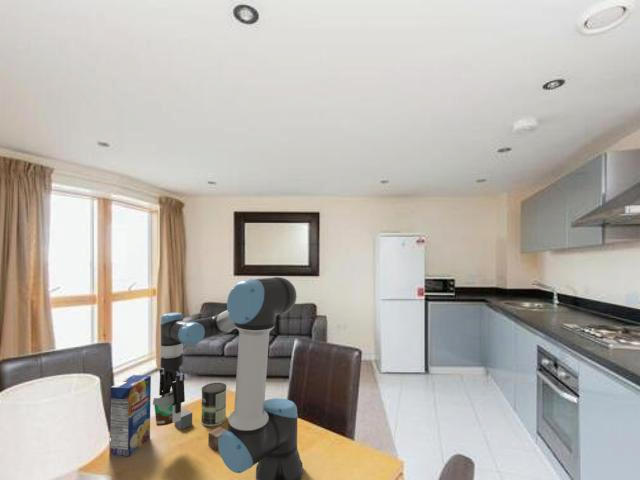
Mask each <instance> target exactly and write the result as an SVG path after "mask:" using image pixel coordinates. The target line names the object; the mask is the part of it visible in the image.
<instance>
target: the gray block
mask: <svg viewBox="0 0 640 480" xmlns="http://www.w3.org/2000/svg"><path fill="white" fill-rule="evenodd" d="M192 425H193V412H192V411H191V410H189V409H183V410H181V420H180V421H177V422H175V423H174V427H176V428H178V429H179V430H183V429H185V428H187V427H189V426H192Z"/></svg>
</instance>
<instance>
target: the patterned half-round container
mask: <svg viewBox="0 0 640 480" xmlns="http://www.w3.org/2000/svg"><path fill="white" fill-rule="evenodd" d="M173 403H174V397H173V393H172V390H170V392H167V393H165V394H164V395H163V396H160V397H158V398H157V397H154V398H153V400H152V405H153V406H154V413H155V423H156V424H155V425H156V426H157V427H162V426H167V425H171V424H173V423H172V413H173V405H172V404H173Z"/></svg>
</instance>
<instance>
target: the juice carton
mask: <svg viewBox="0 0 640 480" xmlns="http://www.w3.org/2000/svg"><path fill="white" fill-rule="evenodd" d="M151 378H152V375H144V374H143V375H140V374H132V375H131V376H128V377H127V378H125V379H124V380H121V381H120V382H117V383H116V384H114V385H112V386H110V393H109V394H110V397H109V398H110V400H109V401H110V403H109V407H110V408H109V409H110V410H109V439H110V438H111V441H110V440H109V444H108V445H109V448H108V449H109V450H108V451H109V452H108V453H109V456H115V457H124V458H125V457H126V458H128V457H130V456H131V455H132V454H134V453H135V451H137V450H138V449H139V448H140V447H141V446H142V445H144V444H145V443H146V442H147V441H149V440H150V439H151V395H152V393H151V389H152V387H151V386H152V385H151V384H152V383H151V382H152V379H151Z"/></svg>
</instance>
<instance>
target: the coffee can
mask: <svg viewBox="0 0 640 480" xmlns="http://www.w3.org/2000/svg"><path fill="white" fill-rule="evenodd" d="M226 419H227V384H226V383H223V382H211V383H208V384H205V385H204V386H202V387H201V420H200V421H201V423H200V424H202V426H205V427H215V426H219V425H221V424H223V423H225V421H227V420H226Z"/></svg>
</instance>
